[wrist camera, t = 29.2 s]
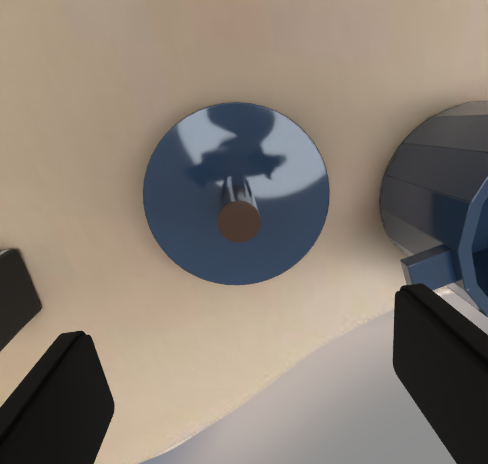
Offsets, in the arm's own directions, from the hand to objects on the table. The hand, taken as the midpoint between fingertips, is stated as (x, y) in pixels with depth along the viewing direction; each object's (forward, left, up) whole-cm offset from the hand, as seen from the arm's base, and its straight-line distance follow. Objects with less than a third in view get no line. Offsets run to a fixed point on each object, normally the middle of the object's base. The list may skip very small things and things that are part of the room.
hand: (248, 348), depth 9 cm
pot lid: (0, 0, -18) cm, 18 cm away
